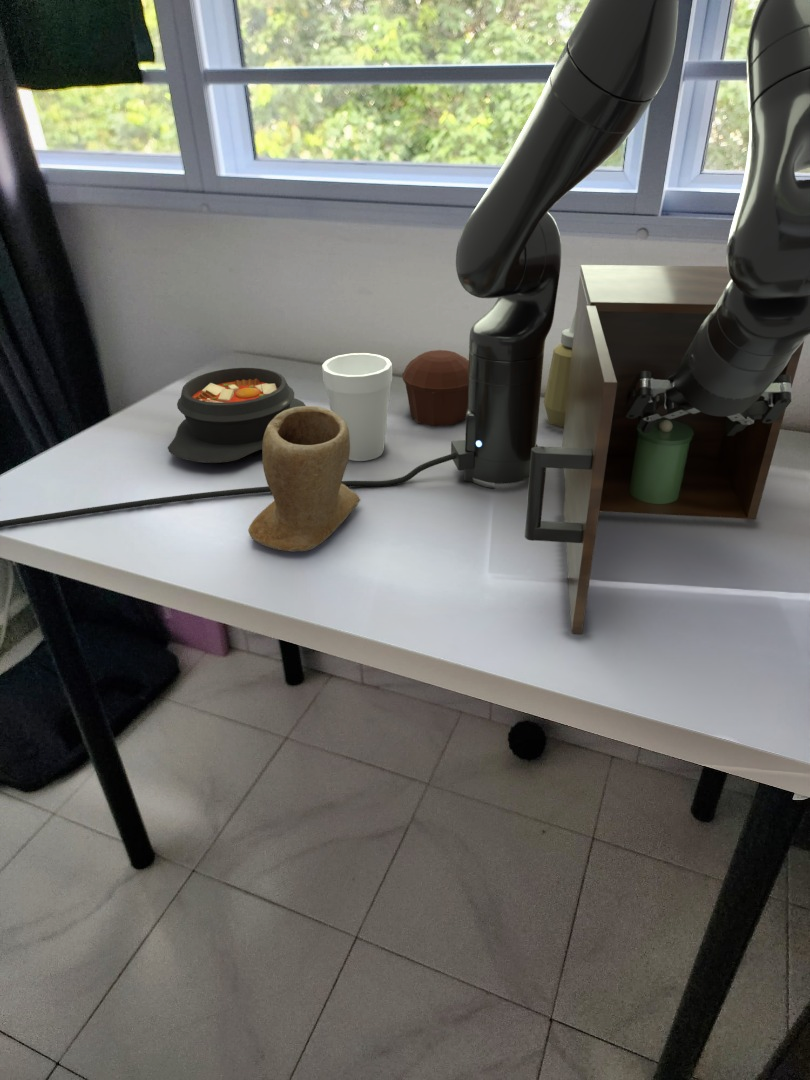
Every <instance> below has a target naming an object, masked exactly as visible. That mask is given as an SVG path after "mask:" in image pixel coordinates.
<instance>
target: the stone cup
mask: <svg viewBox="0 0 810 1080" xmlns="http://www.w3.org/2000/svg"><path fill="white" fill-rule="evenodd" d="M261 451H262V454H261V455H262V468H263V473H264V477H265V481H266V484H267V486H269V488H270V490H271V492H270V493H271V495H272V497H273V501H272V502H271V503H270V504H268V505H267V506H266V507H265V508H264V509H263V510H262V511H260V513H259V514H258V515H257V516H256V517H255V518H254V519H253V520H252V522H251V523H250V525H249V528H248V529H247V531H248V534H249V536H250V538H251V539H252V540H253V541H254V542H256V543H258V544H261V545H263V546H264V547H268V548H270V549H274V550H278V551H283V552H291V553H292V552H307V551H311V550H313V549H315V548H316V547H318V546H319V545H321V544H322V543H324V542H325V541H326V540H327V539H329V537H330V536H332V535H333V533H334V532H335V531H336V530H337V529H339V528H340V526H341V525H342V524H343V523H344V521H345V520H346V519H347V518H348V517H349V516H350V514H351V513H352V512H353V511H354V510H355V508H356V507H357V506H358V505H359V503H360V501H361V498H360V496H359V495H358V494H357V493H356V492H355V491H353V490H352V489H351V488H349V487H347V486H346V485H344V484H341V482H342V481H343V479H344V475H345V472H346V470H347V467H348V464H349V455H350V436H349V429H348V427H347V424H346V422H345V421H344V420H343V419H342V418H341V417H340V416H339V415H337V414H336V413H335V412H333V411H331V409H328V408H325V407H322V406H315V405H306V406H300V407H294V408H290V409H287V410H284V411H282V412H281V413H279V414H277V415H276V416H275V417H274V418H273V419H272V420H271V421H270V423H269V424H268V426H267V428H266V430H265V433H264V437H263V444H262V450H261Z"/></svg>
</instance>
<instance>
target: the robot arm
mask: <svg viewBox="0 0 810 1080" xmlns="http://www.w3.org/2000/svg"><path fill="white" fill-rule="evenodd" d="M679 1H680V0H588V3H587V4H586V6H585V8H584V11H583V12H582V14H581V15H580V18H579V19H578V21H577V23H576V25H575V27H574V28H573V30H572V32H571V34H570V35H569V38H568V39H567V41H566V43H565V45H564V47H563V49H562V51H561V53H560V55H559V56H558V59H557V61H556V62H555V65H554V67H553V69H552V70H551V72H550V75H549V77H548V80H547V82H546V83H545V86H544V88H543V89H542V93H541V95H540V96H539V99H538V100H537V103H536V104H535V106H534V108H533V109H532V111H531V114H529V115H530V116H529V117H528V119H527V121H526V123H525V125H524V127H523V128H522V130H521V132H520V133H519V136H518V138H517V139H516V141H515V142H514V145H513V147H512V149H511V150H510V152H509V154H508V156H507V158H506V160H505V162H504V163H503V165H502V167H500V169H499V171H498V173H497V175H496V176H495V177H494V179H493V181H492V182H491V184H490V185H489V187H488V188H487V190H486V191H485V193H484V194H483V196H482V197H481V199H480V201H478V204H477V205H476V207H475V208H474V210H473V211H472V212H471V214H470V216H469V217H468V219H467V221H466V223H465V225H464V226H463V229H462V230H461V233H460V236H459V239H458V242H457V247H456V252H455V271H456V275H457V279H458V281H459V283H460V285H461V287H462V288H463V289H464V291H465V292H467V293H468V294H470V295H471V296H473V297H475V298H479V299H480V298H481V299H496V301H495V303H494V304H493V306H492V307H491V308H490V309H489V311H487V312H486V313H485V314H484V315H483V316H481V317H480V318H479V319H478V320H477V321H475V322H474V323H473V324H472V326H471V328H470V330H469V335H468V336H469V338H468V360H469V373H468V407H467V413H466V416H465V434H464V435H465V439H459V440H451V441H450V442H451V443H450V454H446V455H444V456H441V457H437V458H435V459H432V460H429V461H427V462H424V463H422V464H420V465H418V466H416V467H415V468H413V469H412V470H411V471H409V472H408V473H406V474H405V475H403V476H401V477H397V478H393V479H387V480H342V482H341V484H344V485H346V486H347V487H348V488H349V487H360V488H361V487H363V488H365V487H367V488H380V487H391V486H396V485H399V484H403V483H407V482H408V481H410V480H412V479H413V478H414V477H415V476H417V475H418V474H419V473H421V472H423V471H424V470H427V469H429V468H432V467H435V466H437V465H440V464H444V463H446V462H449V461H453V463H454V465H455V468H456V469H457V470H458V471H464V473H463V474H464V478H463V479H464V482H467V483H474V484H476V485H478V486H480V487H485V488H489V489H495V487H496V484H501V485H502V484H503V485H504V484H513V483H518V482H522V481H524V480H526V479H527V480H528V479H529V474H530V461H531V449H532V448H533V447H537V446H538V444H537V441H538V431H539V430H538V429H539V417H540V405H541V394H542V393H541V391H542V381H543V380H542V379H543V371H544V370H543V369H544V359H545V358H544V355H545V345H546V340H547V338H548V335H549V333H550V331H551V329H552V327H553V323H554V319H555V318H554V317H555V311H556V310H555V309H556V303H557V297H558V289H559V281H560V274H561V266H562V240H561V234H560V231H559V228H558V225H557V222H556V220H555V218H554V217H553V216H552V215H551V213H549V212H550V210H551V209H552V208H553V207H554V206H555V205H556V204H557V203H558V202H559V201H560V200H561V199H562V198H563V197H564V196H566V195H567V194H568V193H569V192H570V191H571V190H573V189H574V188H575V187H576V186H578V185H579V184H581V182H583V181H584V180H585V179H587V177H588V176H590V175H591V174H592V173H593V172H595V171H596V170H597V169H598V168H599V167H600V166H601V165H602V164H603V163H605V161H607V160H608V159H609V158H610V157H611V156H612V155H613V154H614V153H616V151H617V150H618V149H619V148H620V147H621V146H622V145H623V143H625V141H626V140H627V138H628V137H629V136H630V134H631V133H632V132H633V130H635V127H636V126H637V124H638V123H639V122H640V120H641V118H642V116H644V114H645V112H646V111H647V109H648V108H649V106H650V105H651V103H652V101H653V100H654V99H655V97H656V95H657V94H658V92H659V91H660V89H661V87H662V86H663V84H664V82H665V80H667V79H666V78H667V76H668V74H669V71H670V69H671V65H672V62H673V58H674V54H675V49H676V41H677V40H676V39H677V31H678V17H679ZM746 83H747V85H746V86H747V102H748V104H747V105H748V123H749V134H748V135H749V137H748V147H747V153H746V154H747V157H746V163H745V168H744V173H743V179H742V184H741V188H740V192H739V197H738V200H737V204H736V207H735V211H734V214H733V217H732V222H731V226H730V229H729V233H728V238H727V243H726V248H725V262H726V267H727V269H728V272H729V275H730V277H731V280H730V282H729V283H728V285H727V286H726V288H725V290H724V291H723V293H722V295H721V297H720V299H719V300H718V302H717V304H716V306H715V308H714V309H713V311H712V312H711V313H710V314H709V315H708V316H707V318H706V319H705V320H704V322H703V323H702V325H701V326H700V328H699V330H698V332H697V333H696V335H695V337H694V339H693V341H692V342H691V344H690V346H689V348H688V350H687V351H686V353H685V355H684V357H683V359H682V360H681V362H680V365H679V367H678V370H677V372H676V373H675V374H673V375H671V376H670V377H668V378H667V380H656V379H653V378H651V372H649V371H642V372H639V373H638V375H637V377H636V378H635V380H634V382H633V383H632V385H631V387H630V388H629V390H628V392H627V393H626V399H627V405H626V417H627V418H631V419H633V418H637V427H638V428H642V432H643V433H650V431H651V429H652V427H653V426H654V424H655V422H656V420H657V419H660V418H663V417H664V418H667V419H674V418H677V417H680V416H683V415H685V414H688V413H691V414H696V413H699V412H703V413H705V414H708V415H712V416H726V436H734V435H735V434H736V433H737V432H740V431H742V430H743V429H744V428H745V427H746V426H747V425H750V424H753V423H754V420H757V419H762V422H763V423H773V422H775V421H776V420H777V418H778V417H779V416H780V415H781V414H782V412H783V411H784V410H785V409H787V408H788V406H789V405H790V404H791V403H792V388H791V376H790V375H780V376H778V375H779V374H780V373H781V372H782V371H783V369H784V368H785V367H786V365H787V363H788V362H789V360H790V358H791V356H792V354H793V353H794V352H795V351H796V350H797V348H798V347H799V346H800V345H801V344H802V343H803V341H804V342H805V341H806V339H807V338H808V337H809V335H810V179H809V178H808V179H797V177H796V174H795V173H797V172H800V171H803V170H806V169H809V168H810V0H759V2H758V4H757V7H756V9H755V11H754V14H753V17H752V21H751V24H750V27H749V33H748V40H747V48H746ZM773 381H774V382H773ZM760 396H763V397H762V401H758V402H756V401H757V400H758V399H759V398H760ZM657 401H659V408H658V409H656V402H657ZM674 404H676V405H677V407H674ZM785 411H786V410H785ZM262 493H263V494H264V493H272V492H271V490H270V488H269V486H268V485H266V486H257V487H256V486H255V487H245V488H236V489H224V490H216V491H215V490H213V491H205V492H198V493H189V494H180V495H171V496H165V497H164V496H163V497H155V498H149V499H140V500H134V501H126V502H119V503H113V504H106V505H98V506H92V507H83V508H78V509H72V510H71V509H70V510H64V511H58V512H52V513H45V514H39V515H38V514H37V515H31V516H24V517H18V518H11V519H4V520H0V528H5V527H11V526H19V525H24V524H31V523H38V522H43V521H44V522H45V521H51V520H57V519H58V520H59V519H65V518H71V517H78V516H84V515H92V514H97V513H105V512H111V511H120V510H125V509H126V510H127V509H133V508H139V507H146V506H155V505H161V504H162V505H163V504H170V503H177V502H187V501H195V500H203V499H210V498H211V499H212V498H213V499H214V498H221V497H230V496H232V497H233V496H240V495H241V496H242V495H253V494H262Z"/></svg>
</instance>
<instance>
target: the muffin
mask: <svg viewBox="0 0 810 1080" xmlns="http://www.w3.org/2000/svg"><path fill="white" fill-rule="evenodd" d="M468 373H469V359H468V358H466V357H464V356H462V355H460V354H459V353H457V352H455V351H451V350H444V349H443V350H442V349H437V350H436V349H435V350H429V351H425V352H422V353H421V354H419V355H418V356H416V357H414V358H413V359H412V360H410V361H409V363H407V365H406V366H405V368H404V371H403V372H402V380H403V382H404V385H405V388H406V389H405V390H406V393H407V399H408V405H409V411H410V417H411V418H412V419H413V420H415V421H416V422H417V423H418V424H421V425H428V426H432V427H443V426H453V425H455V424H457V423H461V422H463V421H466V413H467V407H468Z"/></svg>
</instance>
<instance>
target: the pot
mask: <svg viewBox="0 0 810 1080" xmlns="http://www.w3.org/2000/svg"><path fill="white" fill-rule="evenodd" d="M636 433H637V439H636V445H635V451H634V457H633V464H632V470H631V476H630V482H629V488H628V490H629V493H630V494H631V495H632V496H633V497H634V498H636V499H638V500H640V501H643V502H647V503H652V504H667V503H671V502H674V501H676V500H677V499H678V498H679V495H680V490H681V485H682V480H683V475H684V471H685V466H686V461H687V456H688V451H689V446H690V441H691V440H692V439H693V436H694V431H693V429H692V428H691V427H690V426H688V425H686V424H684V423H682V422H679V421H675V420H669V419H657V420H656V422H655V424H654V426H653V427H652V429H651V431H650V433H643V432H642V428H638V427H637V428H636Z"/></svg>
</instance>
